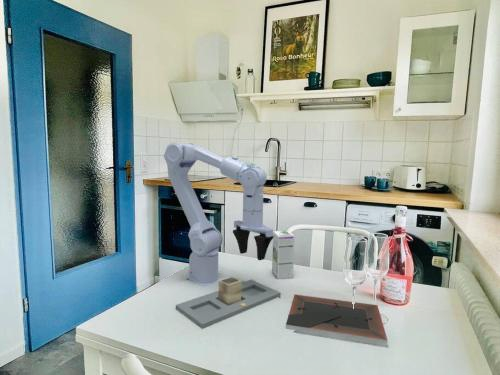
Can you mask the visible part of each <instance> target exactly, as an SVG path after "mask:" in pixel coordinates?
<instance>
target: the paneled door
mask: <svg viewBox="0 0 500 375" xmlns="http://www.w3.org/2000/svg"><path fill="white" fill-rule="evenodd" d="M218 294H219V290H215V291H213V292H210V293H207V294H204V295H201V296H199V297H195V298H192V299H189V300H186V301H183V302H181V303H178V304H176V305H175V310H176V311H178V312H179V313H180V314H182V315H183V316H185V317H186V318H187V319H189V320H190V321H192V323H194V324H195V325H197V326H198V327H199V328H201V329H202V330H203V329H205V328H208V327H210V326H212V325H213V326H214V324H218V323H219V322H222V321H224V320H225V321H226V320H227V319H229V318H232V317H234V316H237V315H239V314H241V313H244V312H246V311H248V310H251V309H254V308H255V307H258V306H261V305H263V304H265V303H267V302H270V301H273V300H274V299H277V298H278V299H281V295H282V294H281V292H280V291H278V290H276V289H273V288H271V287H269V286H267V285H265V284H262V283H261V282H258V281H256V280H254V279H250V280H249V279H248V280H246V281H243V282H242V283H241V301H239V302H237V303H234V304H231V305H229V306H228V305H226V304H225V303H223V302H221V301H220V300H218Z"/></svg>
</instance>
